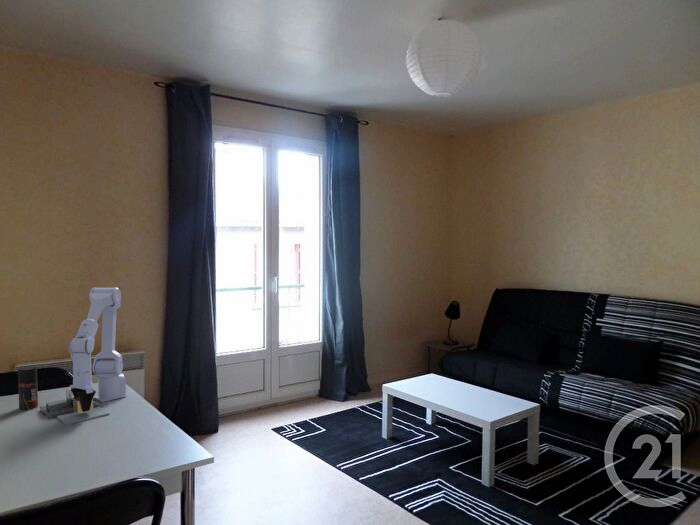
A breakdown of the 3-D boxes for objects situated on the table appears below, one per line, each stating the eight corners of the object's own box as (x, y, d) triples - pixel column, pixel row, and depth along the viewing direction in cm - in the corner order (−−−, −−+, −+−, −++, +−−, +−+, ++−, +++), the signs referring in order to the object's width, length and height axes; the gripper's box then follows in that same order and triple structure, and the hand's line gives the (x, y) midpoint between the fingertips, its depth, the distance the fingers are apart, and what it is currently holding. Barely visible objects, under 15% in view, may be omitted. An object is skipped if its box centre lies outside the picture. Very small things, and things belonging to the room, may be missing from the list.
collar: (88, 406, 177) (88, 394, 177) (93, 410, 174) (92, 397, 174) (73, 410, 174) (72, 397, 174) (77, 413, 170) (77, 400, 170)
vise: (87, 400, 191) (86, 381, 191) (98, 407, 183) (97, 387, 183) (40, 410, 180) (39, 390, 180) (49, 418, 172) (49, 397, 171)
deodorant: (31, 410, 180) (29, 370, 180) (15, 410, 180) (13, 370, 180) (41, 405, 186) (40, 366, 186) (26, 405, 186) (24, 366, 186)
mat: (99, 408, 182) (99, 406, 182) (109, 414, 176) (109, 412, 175) (57, 418, 172) (57, 416, 172) (66, 425, 165) (66, 423, 165)
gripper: (63, 369, 175) (64, 407, 176) (76, 377, 165) (78, 416, 166) (84, 366, 180) (85, 402, 181) (99, 373, 170) (100, 411, 171)
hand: (83, 409), depth 174 cm, fingers closed on collar, 5 cm apart
